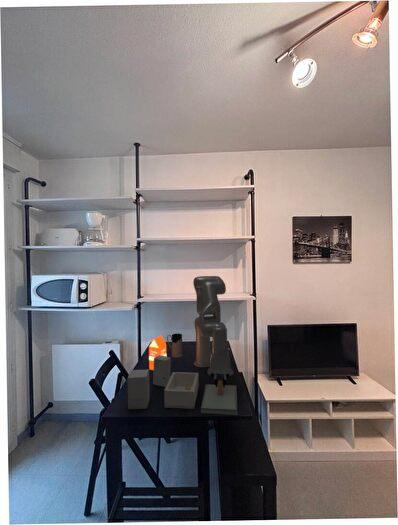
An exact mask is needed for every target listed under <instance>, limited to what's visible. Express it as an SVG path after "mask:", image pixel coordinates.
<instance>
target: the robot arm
mask: <svg viewBox="0 0 398 525" xmlns="http://www.w3.org/2000/svg"><path fill="white" fill-rule="evenodd" d="M192 284H193V288H194V291H195V294H196V313H197V314H198V315H199V316H198V317H196V318H195V319H194V322H193V323H194V328H195V346H196V347H195V348H196V349H195V350H196V351H195V353H196V355H195V356H196V358H195V360H194V361H193V365H194V366H196V367H198V368H208V370H207V374H208V375H209V376H211V377H212V378H213V380H214V385H216V388H217V385H218V375H223V378H222V385H223V388H225V385H227V379H228V378H229V377H230V376H232V375H234V371H233V369H232V368H231V361H230V360H231V359H230V354H229V352H230V351H231V349H230V348H228V328H227V327H226V325H225V323H224V322H221V321H222V320H221V314H222V313H221V303H220V302H219V298H218V295H225V294H226V292H227V287H226V283H225V282H224V280H223V279H222V278H221V277H220V276H218V275H200V276H199V275H198V276H196V277H194V278H193V283H192ZM211 338H212V339H211ZM211 340H212V345H211ZM211 346H212V348H211ZM211 349H212V351H211Z"/></svg>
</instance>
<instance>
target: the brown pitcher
mask: <svg viewBox="0 0 398 525" xmlns="http://www.w3.org/2000/svg"><path fill="white" fill-rule="evenodd" d="M169 337H170V341H171V344H170V342H169ZM166 340H167V344H168V346H169V347H170V349H171V358H172V357H173V358H181V357H183V356H184V354H183V352H184V351H183V334H182V333H173V334H167V336H166Z"/></svg>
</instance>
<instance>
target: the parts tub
mask: <svg viewBox="0 0 398 525" xmlns="http://www.w3.org/2000/svg"><path fill="white" fill-rule="evenodd" d="M199 387H200V386H199V372H183V371H182V372H181V371H180V372H179V371H175V372H174V371H173V372H172V373H171V374H170V380H169V382H168V384H167V386H166V387H164V408H167V409H168V408H169V409H170V408H171V409H188V410H189V409H190V410H191V409H192V410H195V407H196V403H197V402H196V401H197V396H198V393H199Z"/></svg>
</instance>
